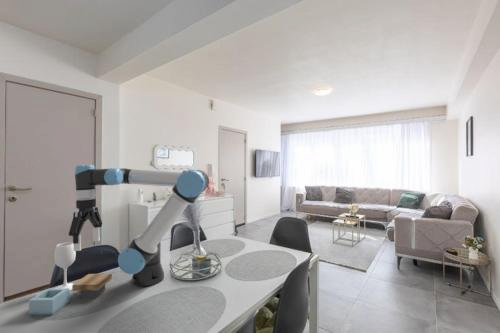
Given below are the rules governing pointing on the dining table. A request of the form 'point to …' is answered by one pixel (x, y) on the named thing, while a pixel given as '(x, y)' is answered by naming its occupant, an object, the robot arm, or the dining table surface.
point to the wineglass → (64, 260)
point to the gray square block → (92, 292)
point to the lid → (91, 282)
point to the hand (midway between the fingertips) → (87, 245)
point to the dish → (49, 301)
